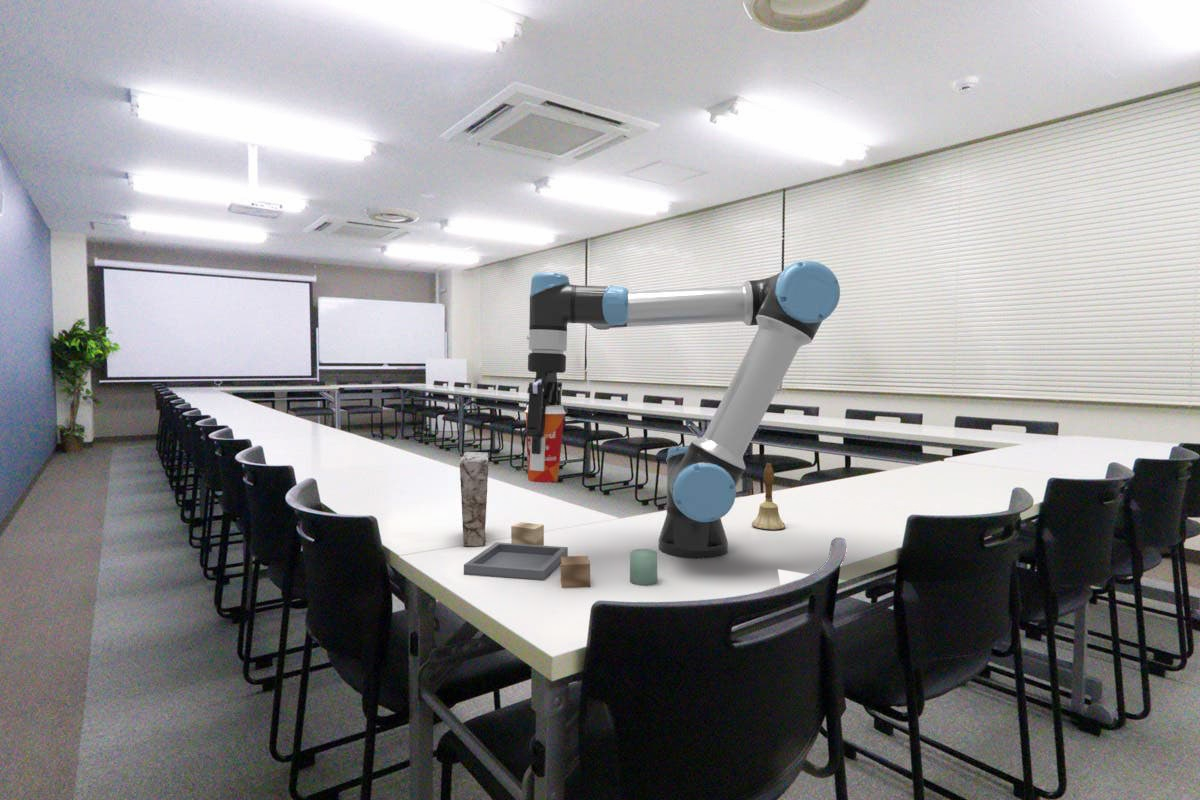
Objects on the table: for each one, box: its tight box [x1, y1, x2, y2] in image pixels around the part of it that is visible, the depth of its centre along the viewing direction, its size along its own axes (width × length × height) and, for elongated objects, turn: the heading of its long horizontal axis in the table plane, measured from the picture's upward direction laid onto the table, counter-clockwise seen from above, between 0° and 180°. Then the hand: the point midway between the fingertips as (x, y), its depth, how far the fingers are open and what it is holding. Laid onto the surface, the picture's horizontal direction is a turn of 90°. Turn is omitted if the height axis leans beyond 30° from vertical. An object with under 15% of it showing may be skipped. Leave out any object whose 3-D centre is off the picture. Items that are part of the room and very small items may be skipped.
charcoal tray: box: [463, 541, 569, 582], centre depth 126 cm, size 16×16×2 cm
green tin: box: [629, 548, 658, 587], centre depth 116 cm, size 5×5×6 cm
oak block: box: [510, 522, 545, 546], centre depth 140 cm, size 6×4×5 cm, turn 67°
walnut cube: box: [560, 555, 591, 589], centre depth 115 cm, size 5×5×5 cm
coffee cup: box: [523, 404, 567, 483], centre depth 126 cm, size 8×8×15 cm
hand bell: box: [751, 462, 786, 531], centre depth 160 cm, size 8×8×16 cm
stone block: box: [459, 451, 489, 547], centre depth 146 cm, size 13×7×20 cm, turn 15°
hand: (543, 467), depth 126 cm, fingers closed on coffee cup, 7 cm apart
